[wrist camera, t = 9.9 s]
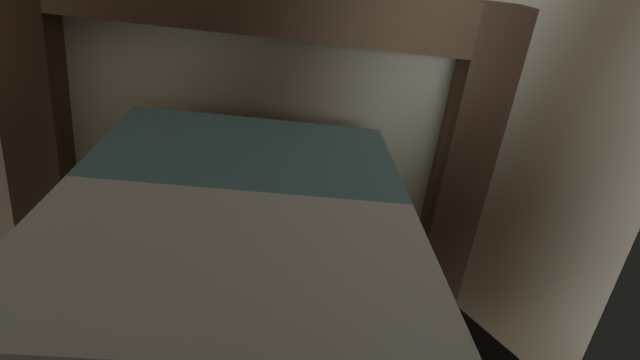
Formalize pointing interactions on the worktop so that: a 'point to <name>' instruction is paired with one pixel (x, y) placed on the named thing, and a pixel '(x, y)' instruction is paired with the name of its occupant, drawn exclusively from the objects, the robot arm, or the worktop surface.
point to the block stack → (227, 250)
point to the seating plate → (378, 122)
